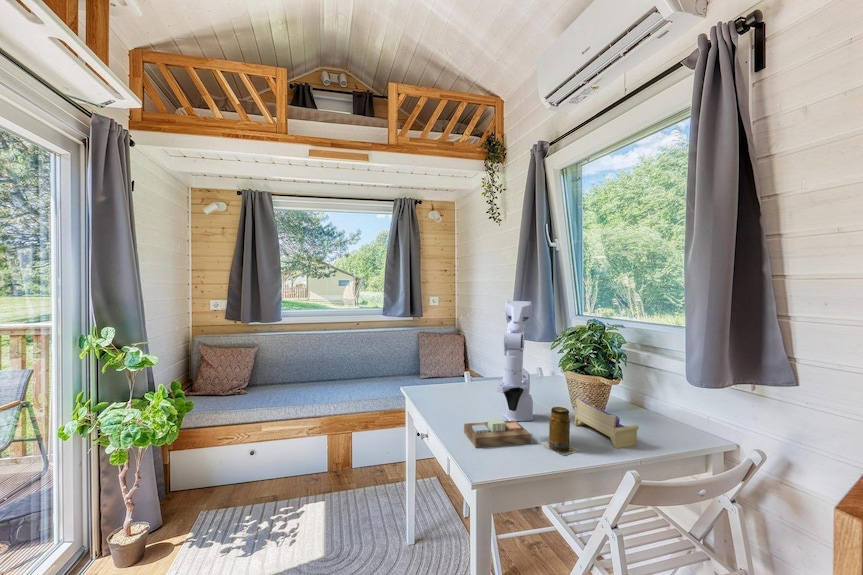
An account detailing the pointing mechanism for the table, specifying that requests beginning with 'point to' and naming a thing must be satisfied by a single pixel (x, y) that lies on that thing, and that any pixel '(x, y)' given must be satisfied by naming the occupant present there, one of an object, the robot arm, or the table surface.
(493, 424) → the sage key
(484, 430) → the slate key
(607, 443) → the table surface
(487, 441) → the brown wooden tray
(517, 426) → the terracotta key
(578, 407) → the toy sofa
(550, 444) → the condiment
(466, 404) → the table surface
